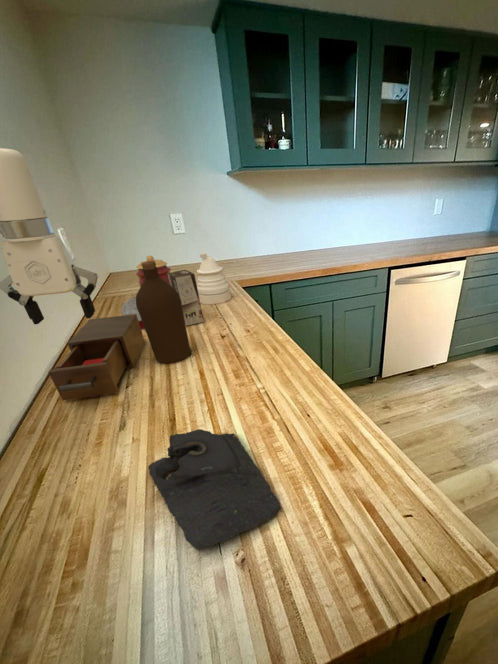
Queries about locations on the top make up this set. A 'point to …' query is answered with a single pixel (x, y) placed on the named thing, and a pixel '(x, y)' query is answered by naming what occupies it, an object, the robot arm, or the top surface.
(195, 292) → the coffee box
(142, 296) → the olive oil
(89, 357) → the drawer
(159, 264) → the kitchen canister
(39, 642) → the top surface
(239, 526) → the folded black cloth
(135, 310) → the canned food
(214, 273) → the honey pot
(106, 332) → the cabinet
